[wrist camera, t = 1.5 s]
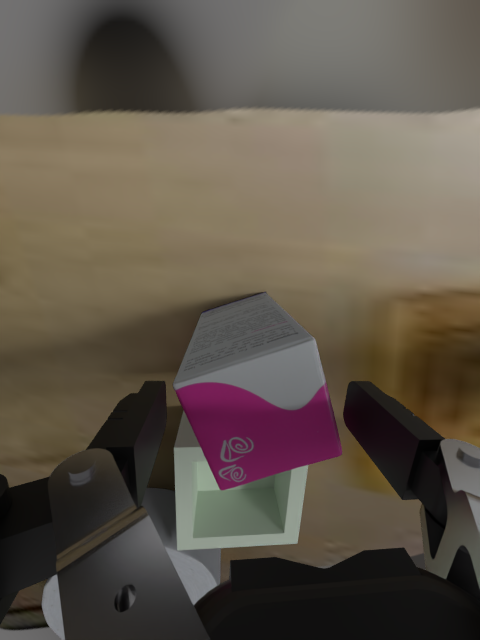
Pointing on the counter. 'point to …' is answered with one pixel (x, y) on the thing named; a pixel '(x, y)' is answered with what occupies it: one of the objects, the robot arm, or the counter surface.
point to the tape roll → (191, 565)
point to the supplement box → (256, 392)
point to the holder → (232, 503)
